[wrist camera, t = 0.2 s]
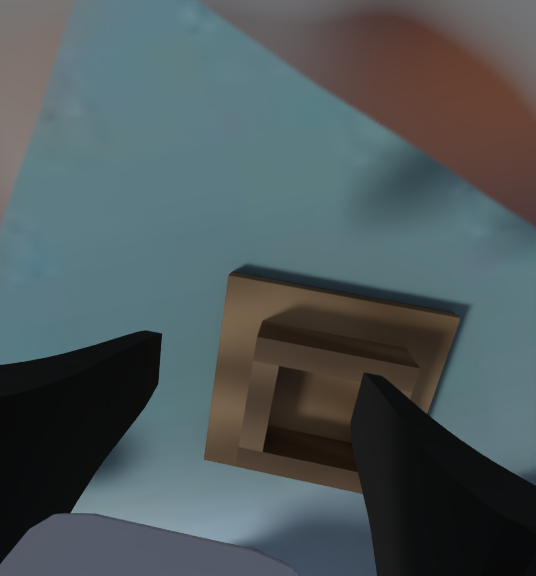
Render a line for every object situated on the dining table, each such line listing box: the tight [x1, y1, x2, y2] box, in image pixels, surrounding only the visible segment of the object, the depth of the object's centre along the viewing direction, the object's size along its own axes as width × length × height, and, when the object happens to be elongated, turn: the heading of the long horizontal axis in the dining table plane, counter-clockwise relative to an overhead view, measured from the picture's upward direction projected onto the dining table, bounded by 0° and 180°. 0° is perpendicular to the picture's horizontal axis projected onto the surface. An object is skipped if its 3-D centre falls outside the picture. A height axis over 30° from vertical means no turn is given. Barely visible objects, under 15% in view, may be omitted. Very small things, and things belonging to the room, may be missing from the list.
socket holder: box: [204, 272, 461, 494], centre depth 21 cm, size 14×14×4 cm
